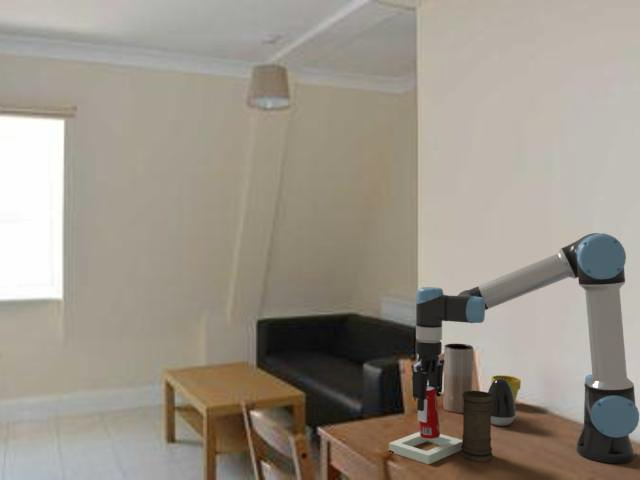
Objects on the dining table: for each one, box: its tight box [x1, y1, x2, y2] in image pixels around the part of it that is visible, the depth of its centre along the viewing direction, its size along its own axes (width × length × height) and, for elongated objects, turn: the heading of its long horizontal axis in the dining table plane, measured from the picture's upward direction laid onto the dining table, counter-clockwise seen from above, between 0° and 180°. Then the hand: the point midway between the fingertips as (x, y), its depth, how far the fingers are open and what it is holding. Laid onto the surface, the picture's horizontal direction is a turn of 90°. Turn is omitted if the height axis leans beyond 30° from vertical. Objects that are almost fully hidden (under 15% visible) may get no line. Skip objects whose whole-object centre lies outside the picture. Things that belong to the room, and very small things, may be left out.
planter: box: [442, 343, 474, 414], centre depth 237 cm, size 10×10×23 cm
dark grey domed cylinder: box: [487, 378, 517, 427], centre depth 221 cm, size 10×10×15 cm
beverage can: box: [417, 384, 441, 440], centre depth 196 cm, size 6×6×15 cm
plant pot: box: [490, 374, 521, 402], centre depth 244 cm, size 10×10×10 cm
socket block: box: [388, 431, 463, 465], centre depth 195 cm, size 14×18×3 cm
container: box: [460, 390, 493, 463], centre depth 190 cm, size 9×9×18 cm
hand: (427, 419), depth 195 cm, fingers open, 4 cm apart
